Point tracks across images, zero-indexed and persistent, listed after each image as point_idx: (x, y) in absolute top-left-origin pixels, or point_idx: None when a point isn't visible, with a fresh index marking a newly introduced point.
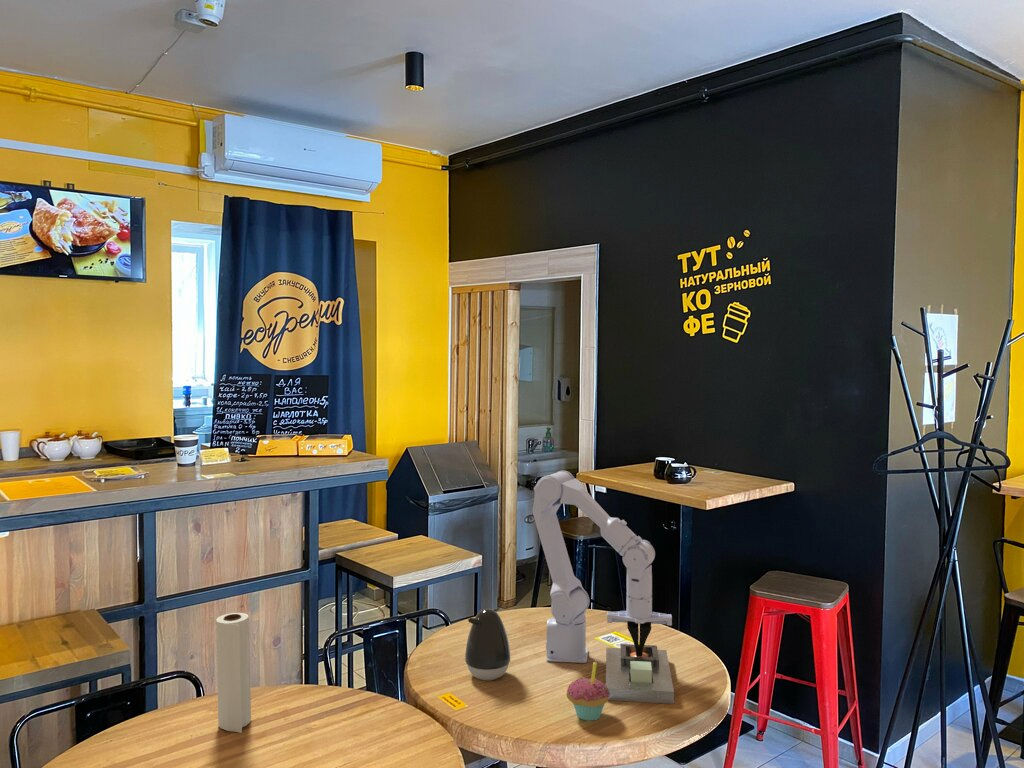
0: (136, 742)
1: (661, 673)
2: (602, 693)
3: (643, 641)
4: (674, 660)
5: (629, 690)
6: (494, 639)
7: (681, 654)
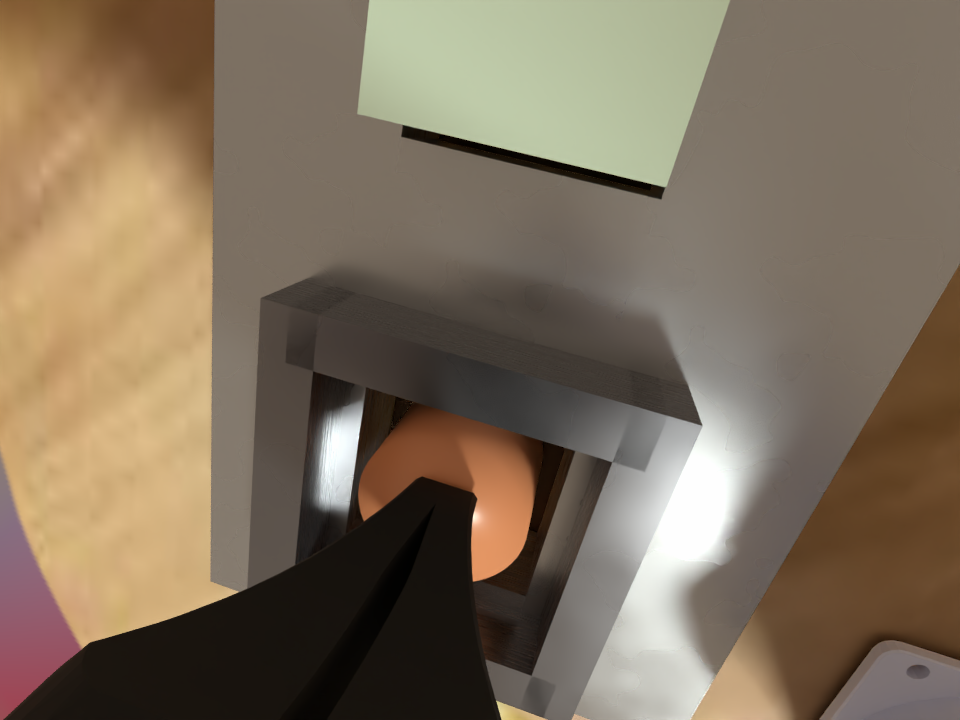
0: None
1: (303, 127)
2: None
3: (331, 566)
4: (210, 518)
5: None
6: None
7: (164, 578)
